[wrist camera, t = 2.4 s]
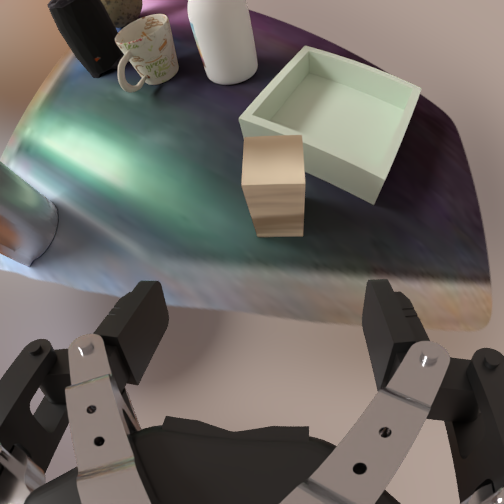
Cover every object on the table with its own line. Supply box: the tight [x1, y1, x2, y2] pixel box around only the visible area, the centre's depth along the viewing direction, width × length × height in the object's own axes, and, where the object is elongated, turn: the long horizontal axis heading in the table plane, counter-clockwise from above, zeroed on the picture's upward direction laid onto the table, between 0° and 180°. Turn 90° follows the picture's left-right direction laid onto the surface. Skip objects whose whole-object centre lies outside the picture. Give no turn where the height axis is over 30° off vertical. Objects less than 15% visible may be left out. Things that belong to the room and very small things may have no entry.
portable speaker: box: [48, 0, 124, 78], centre depth 38 cm, size 9×9×20 cm
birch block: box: [241, 135, 305, 237], centre depth 27 cm, size 4×4×10 cm
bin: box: [239, 46, 421, 205], centre depth 32 cm, size 16×16×5 cm
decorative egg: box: [101, 0, 142, 28], centre depth 46 cm, size 11×11×15 cm
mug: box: [115, 14, 179, 93], centre depth 37 cm, size 8×13×10 cm, turn 163°
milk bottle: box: [188, 0, 258, 85], centre depth 31 cm, size 8×8×20 cm
